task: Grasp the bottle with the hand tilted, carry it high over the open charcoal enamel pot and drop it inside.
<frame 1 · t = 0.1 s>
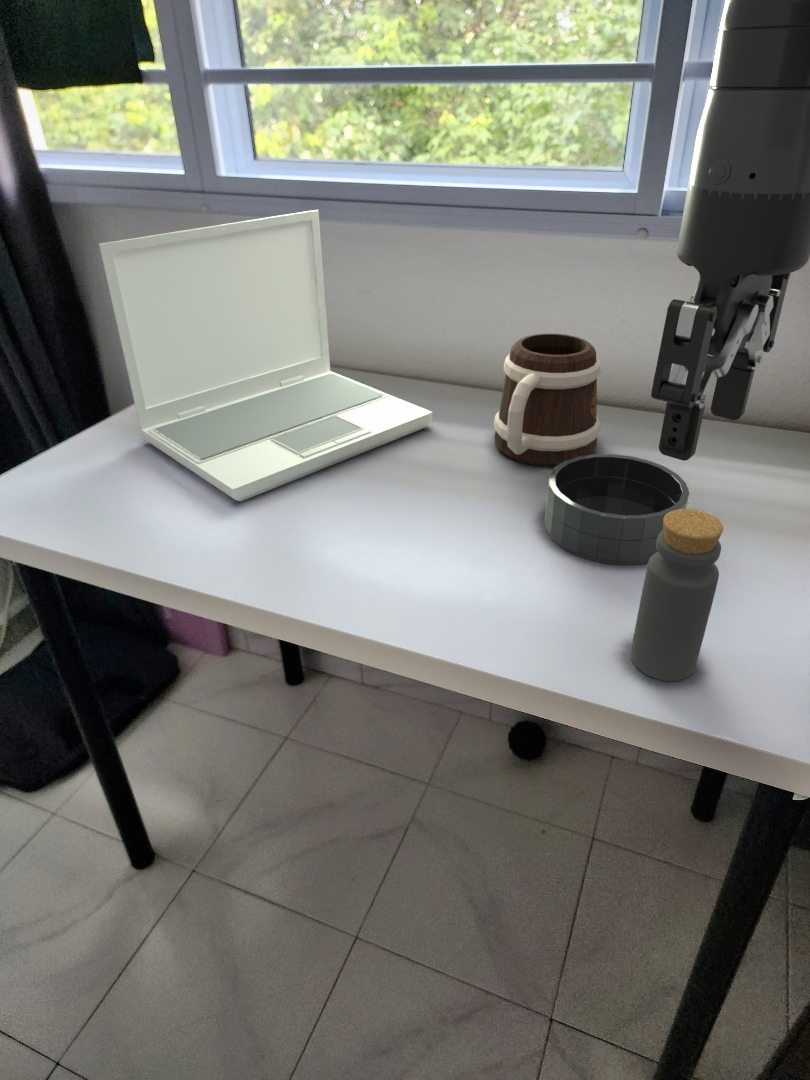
hand: (702, 435, 52), 25 cm above the table, tool pointing down, fingers open, 8 cm apart
pot: (610, 528, 89), on the table
mug: (537, 453, 107), on the table
laptop: (289, 436, 113), on the table
bottle: (662, 661, 70), on the table
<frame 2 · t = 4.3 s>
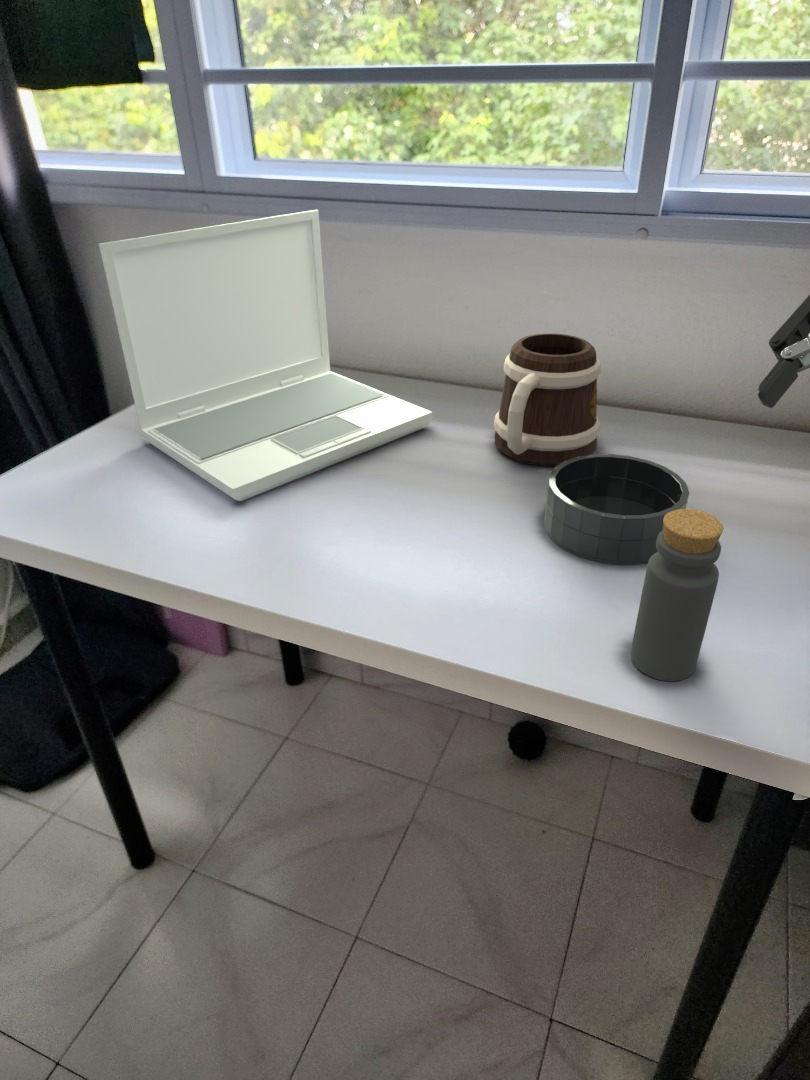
hand: (806, 419, 63), 22 cm above the table, tool tilted 45°, fingers open, 8 cm apart
nothing on the table moved.
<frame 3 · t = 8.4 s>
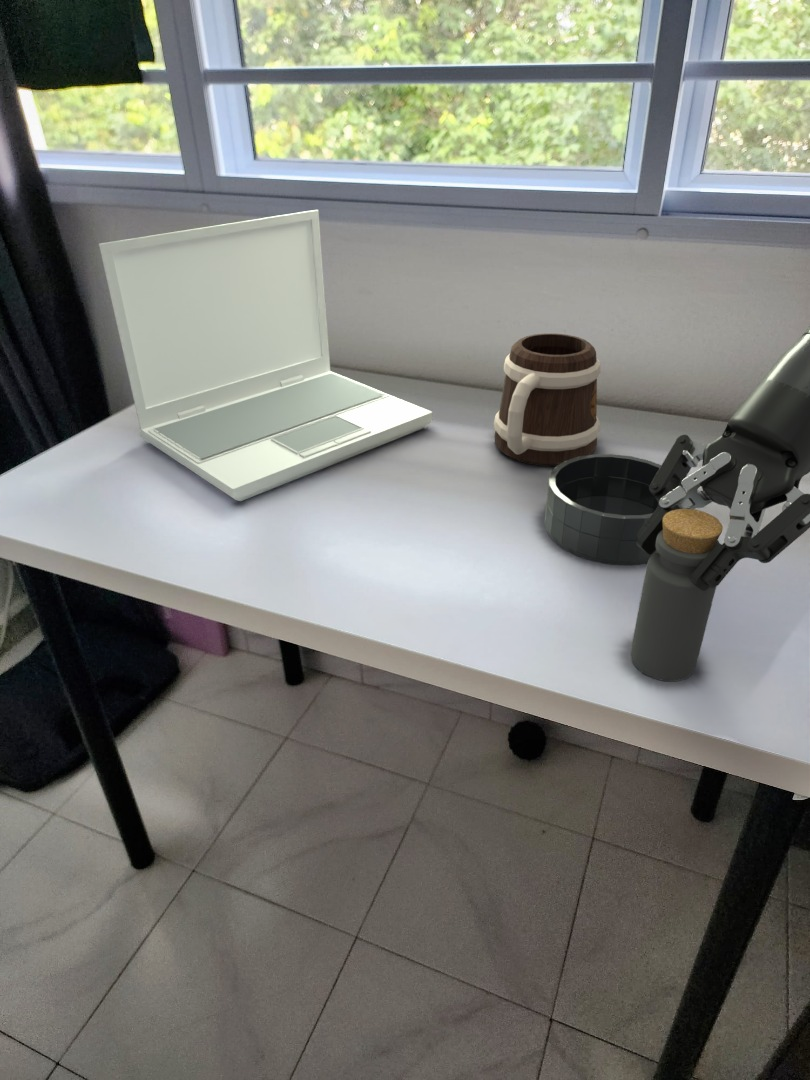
hand: (669, 566, 63), 11 cm above the table, tool tilted 45°, fingers closed on bottle, 5 cm apart
bottle: (662, 661, 70), on the table, touching gripper
everything else where it was.
when the fingers open (14 cm above the table, at t = 23.7 s): bottle drops 2 cm, resting on pot.
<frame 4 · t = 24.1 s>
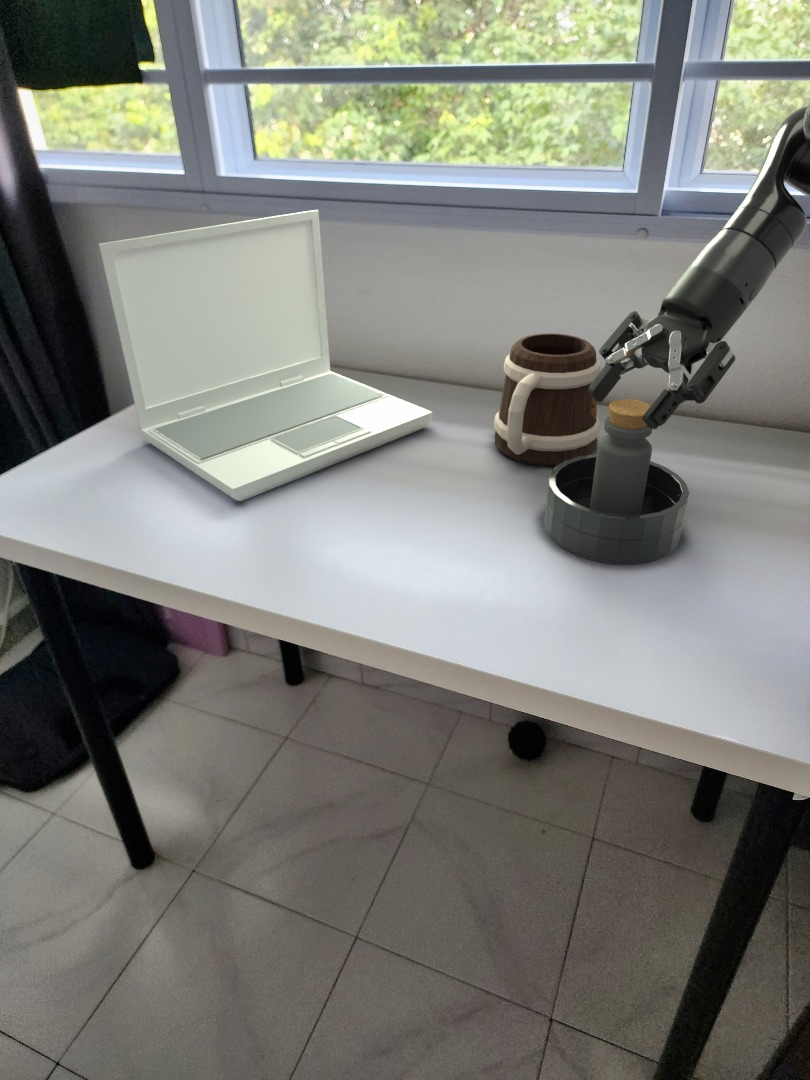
hand: (620, 410, 81), 15 cm above the table, tool tilted 45°, fingers open, 8 cm apart
bottle: (612, 526, 89), resting on pot
everything else where it was.
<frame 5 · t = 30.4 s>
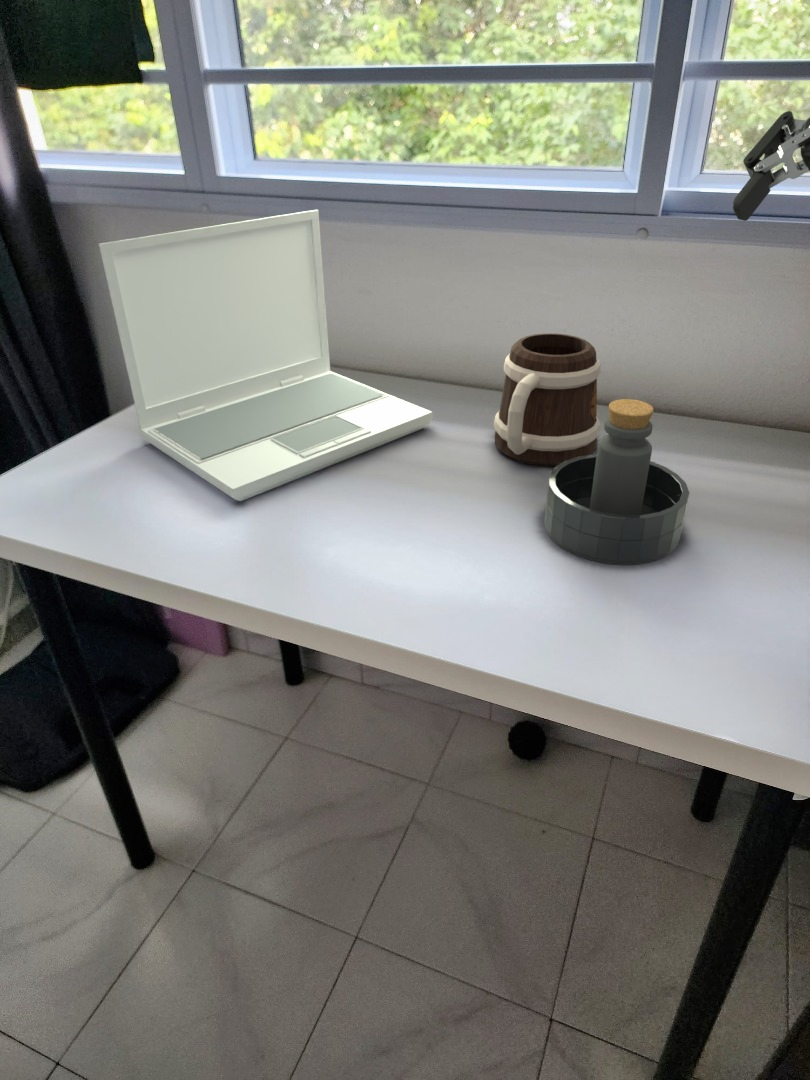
hand: (776, 221, 68), 35 cm above the table, tool tilted 45°, fingers open, 8 cm apart
nothing on the table moved.
at the end: bottle inside the target area in the pot (0.2 cm from its centre), point 0.3 cm above the pot's base; the gripper is holding nothing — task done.
